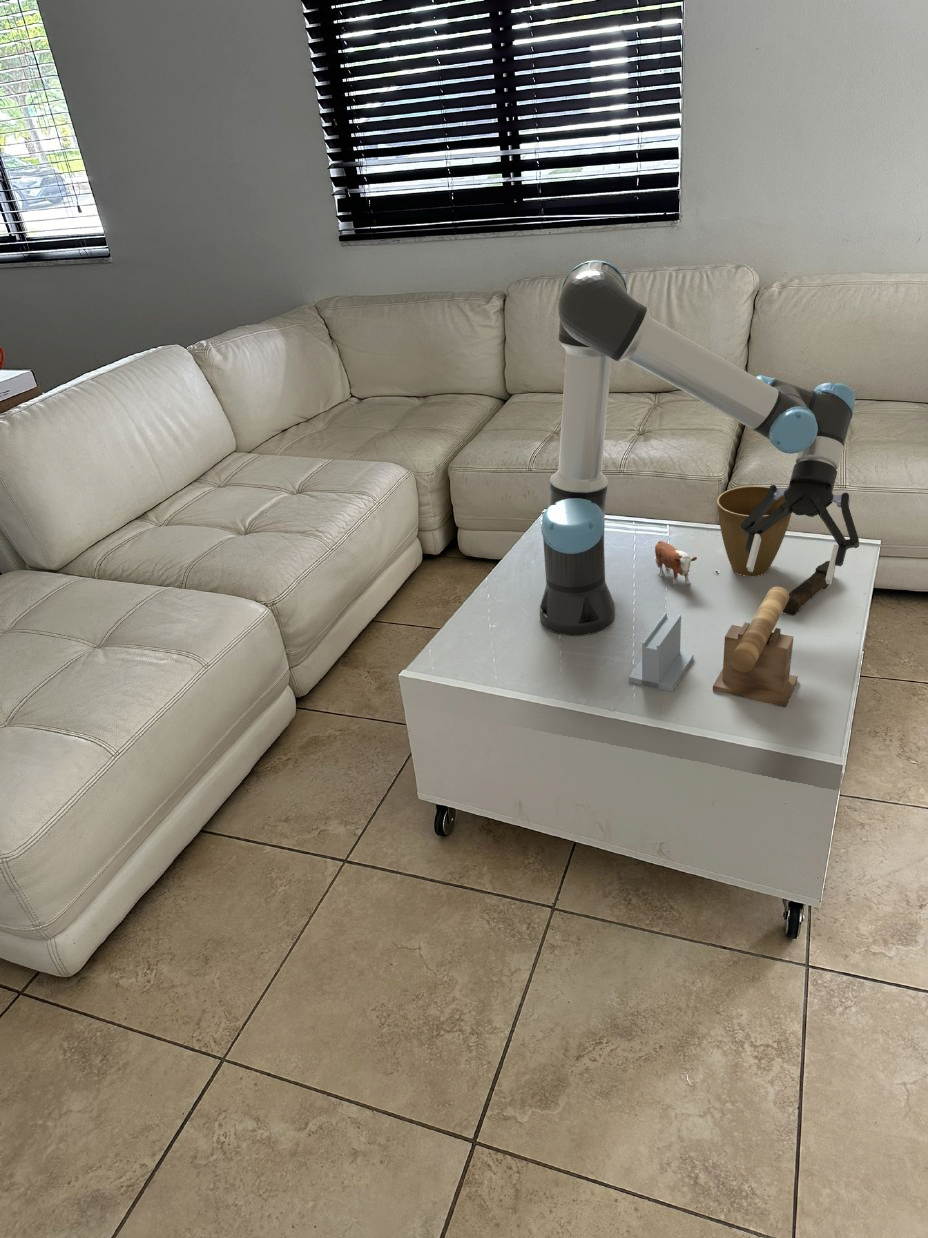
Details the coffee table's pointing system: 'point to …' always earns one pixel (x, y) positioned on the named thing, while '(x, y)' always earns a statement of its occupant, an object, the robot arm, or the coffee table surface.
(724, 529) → the plant pot
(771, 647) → the wooden stand
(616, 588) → the coffee table surface
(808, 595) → the hand tool
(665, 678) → the cradle
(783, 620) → the coffee table surface
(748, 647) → the rod
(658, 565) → the bull figurine
